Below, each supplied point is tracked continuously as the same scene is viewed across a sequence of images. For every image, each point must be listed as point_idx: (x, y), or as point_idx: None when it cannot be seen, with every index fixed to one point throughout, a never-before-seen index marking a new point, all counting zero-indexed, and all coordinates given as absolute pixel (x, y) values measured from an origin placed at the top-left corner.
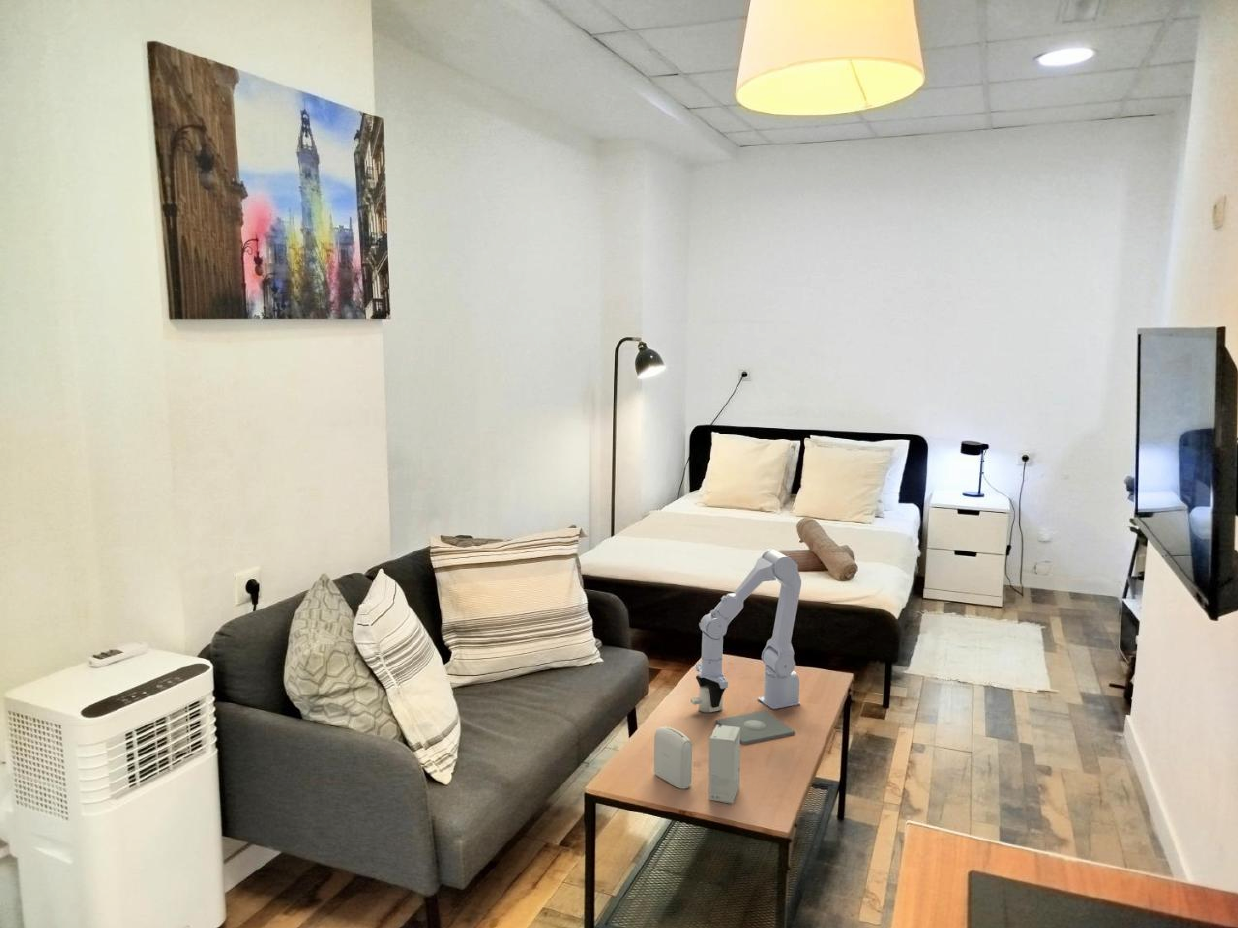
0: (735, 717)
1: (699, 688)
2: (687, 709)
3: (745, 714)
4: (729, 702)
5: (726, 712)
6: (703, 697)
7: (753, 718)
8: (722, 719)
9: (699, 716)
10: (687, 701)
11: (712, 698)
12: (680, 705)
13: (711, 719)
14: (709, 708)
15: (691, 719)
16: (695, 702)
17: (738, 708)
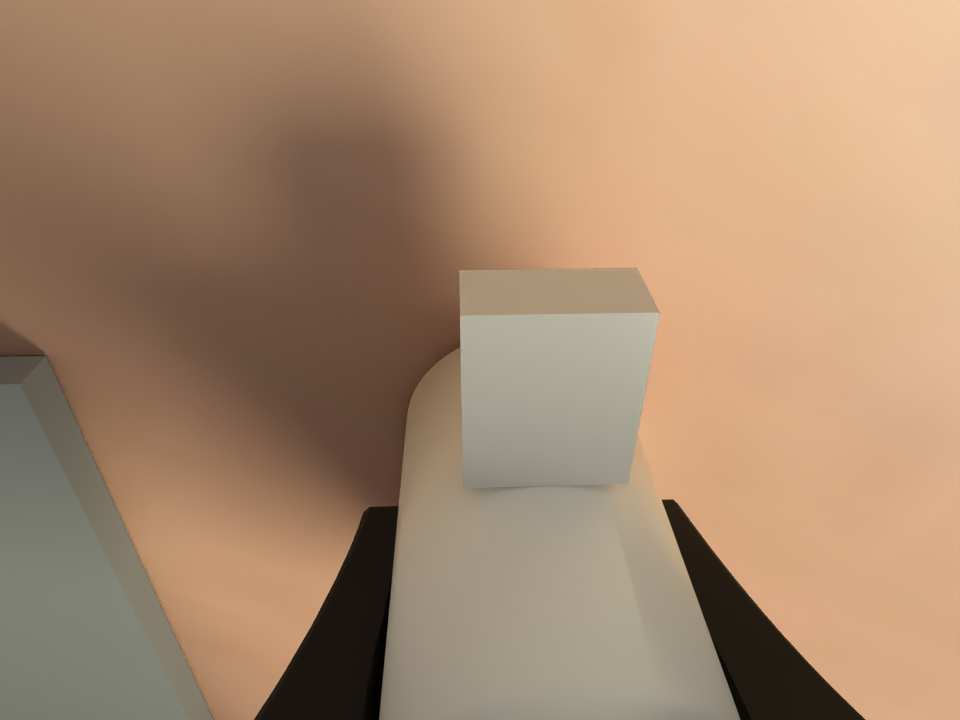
0: (95, 604)
1: (686, 703)
2: (687, 168)
3: (171, 693)
4: None
5: None
6: (447, 557)
7: (53, 711)
8: (29, 466)
9: (332, 230)
10: (936, 315)
11: (289, 665)
12: (910, 127)
13: (175, 349)
14: (402, 464)
15: (234, 10)
16: (462, 326)
17: None
